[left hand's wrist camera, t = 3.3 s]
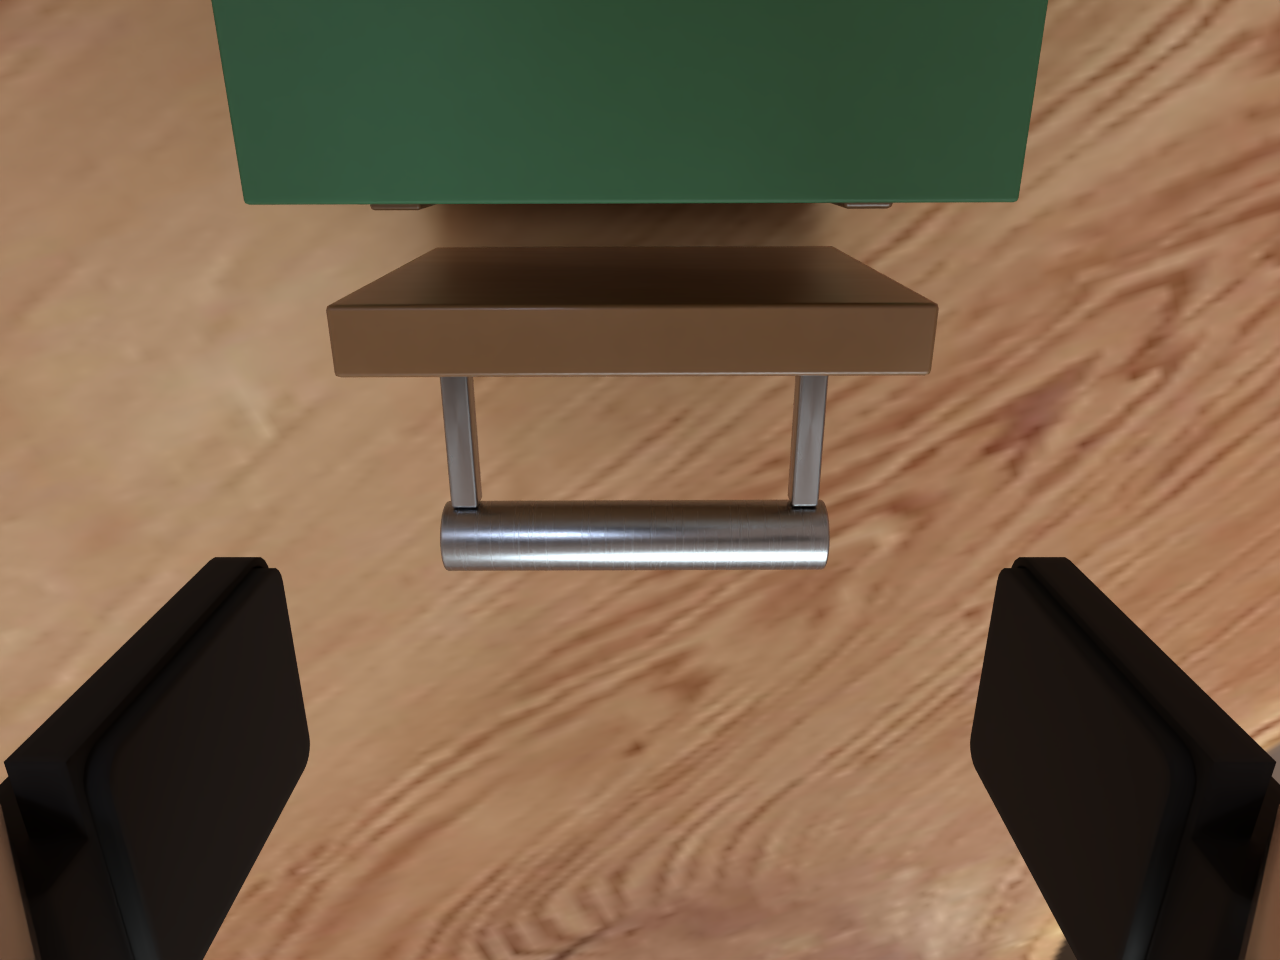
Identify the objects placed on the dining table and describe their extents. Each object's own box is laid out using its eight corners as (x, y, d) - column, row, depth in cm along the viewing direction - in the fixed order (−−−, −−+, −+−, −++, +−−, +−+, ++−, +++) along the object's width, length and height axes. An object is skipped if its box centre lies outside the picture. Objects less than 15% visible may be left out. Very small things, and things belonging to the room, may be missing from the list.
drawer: (815, 496, 24) (896, 660, 16) (456, 497, 24) (372, 663, 16) (888, -450, 17) (1095, -937, 9) (372, -449, 17) (153, -937, 9)
